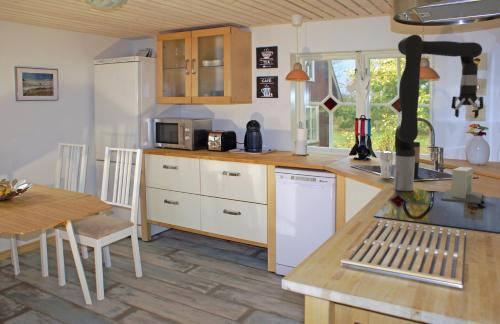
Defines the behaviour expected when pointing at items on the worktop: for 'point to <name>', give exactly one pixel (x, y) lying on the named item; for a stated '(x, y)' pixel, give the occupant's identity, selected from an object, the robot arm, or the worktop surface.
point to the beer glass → (386, 164)
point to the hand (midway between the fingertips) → (466, 117)
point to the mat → (471, 198)
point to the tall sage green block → (461, 182)
